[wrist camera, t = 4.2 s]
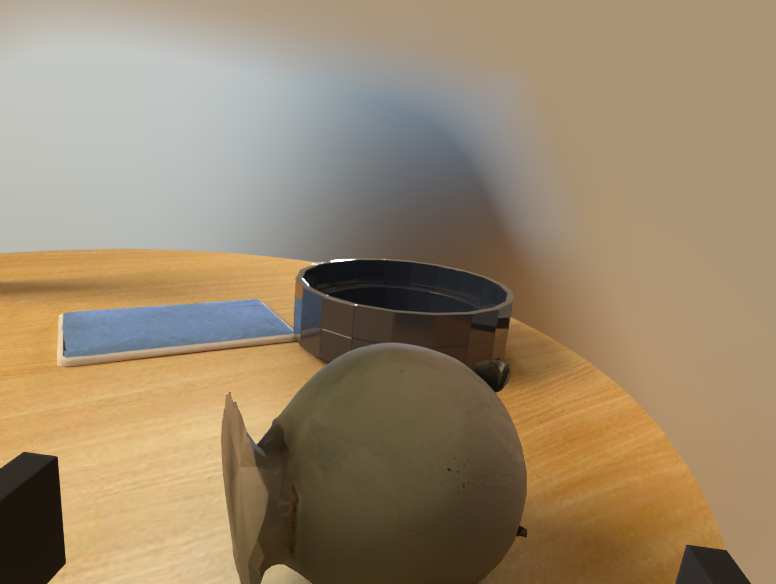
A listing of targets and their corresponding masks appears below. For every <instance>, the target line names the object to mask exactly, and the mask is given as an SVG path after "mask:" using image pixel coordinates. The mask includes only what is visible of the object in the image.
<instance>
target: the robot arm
mask: <svg viewBox="0 0 776 584" xmlns="http://www.w3.org/2000/svg"><path fill="white" fill-rule="evenodd" d="M65 564H66V558H65V545H64V532H63V520H62V507H61V494H60V481H59V468H58V457H57V456H50V455H43V454H35V453H28V452H23V453H22V454H20V455H19V456H17V457H16V458H15V459H13V460H12V461H10V462H9V463H8V464H6V465H5V466H3V467H2V468H0V584H47V583H48V582H49V581H50V580H51V579H52V578H53V577H54V576H55V575H56V573H57V572H58V571H59V570H60V569H61V568H62V567H63V566H64V565H65ZM676 584H751V583H750V582H749V580H748V579H747V578H746V576H745V575H744V574H743V572H742V571H741V569H740V568H739V567H738V565H737V564H736V563H735V561H734V560H733V559H732V557H731V556H730V554H729V553H728V552H727V550H721V549H713V548H706V547H699V546H692V545H686V548H685V552H684V555H683V559H682V562H681V566H680V570H679V573H678V577H677V580H676Z"/></svg>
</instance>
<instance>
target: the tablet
mask: <svg viewBox="0 0 776 584" xmlns="http://www.w3.org/2000/svg"><path fill="white" fill-rule="evenodd" d="M58 324H59V326H58V352H57V365H58V366H60V367H75V366H84V365H92V364H100V363H108V362H116V361H124V360H132V359H141V358H149V357H158V356H167V355H175V354H184V353H193V352H202V351H211V350H220V349H228V348H237V347H246V346H255V345H265V344H273V343H284V342H293V341H296V340H297V339H296V337H295V335H294V333H293V329H292V328H291V327H289V326H288V325H287V324H286V323H285V322H284V321H283V320H282V319H281V318H279V317H278V316H277V315H276V314H275V313H274V312H273V311H272V310H271V309H270V308H269V307H267V306H266V305H265V304H264V303H263V302H262V301H260V300H256V299H250V300H236V301H222V302H208V303H194V304H179V305H164V306H150V307H136V308H121V309H106V310H91V311H76V312H67V313H63V314H61V315H60V316H59V321H58Z"/></svg>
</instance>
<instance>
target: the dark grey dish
mask: <svg viewBox="0 0 776 584" xmlns="http://www.w3.org/2000/svg"><path fill="white" fill-rule="evenodd" d="M513 297H514V294H513V293H512V292H511V291H510V290H509V289H508V288H507V287H506V286H505V285H503V284H501V283H499V282H497V281H495V280H492V279H490V278H488V277H485V276H482V275H479V274H476V273H472V272H469V271H465V270H461V269H456V268H451V267H447V266H442V265H436V264H429V263H422V262H415V261H404V260H391V259H345V260H332V261H327V262H322V263H316V264H312V265H310V266H308V267H306V268H303V269H301V270H300V271H299V273H298V275H297V277H296V285H295V307H294V330H293V333H294V335H295V337H296V339H297V341H298V343H299V344H300V346H301V347H303V348H304V349H306V350H307V351H309V352H310V353H312V354H313V355H315V356H316V357H318V358H320V359H322V360H325V361H328V362H331V361H332V360H334V359H336V358H337V357H339V356H341V355H343V354H345V353H347V352H349V351H352V350H355V349H358V348H361V347H365V346H369V345H374V344H380V343H402V344H409V345H415V346H420V347H424V348H427V349H431V350H434V351H437V352H440V353H443V354H446V355H448V356H451V357H453V358H455V359H457V360H459V361H460V362H462V363H463V364H465V365H466V366H467V367H468V368H470V369H471V370H472V365H473V363H474V362H479V361H485V360H491V359H496V358H499V359H500V360H501V361H502V360H503V359H504V355H505V348H506V342H507V336H508V329H509V323H510V316H511V310H512V303H513Z"/></svg>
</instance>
